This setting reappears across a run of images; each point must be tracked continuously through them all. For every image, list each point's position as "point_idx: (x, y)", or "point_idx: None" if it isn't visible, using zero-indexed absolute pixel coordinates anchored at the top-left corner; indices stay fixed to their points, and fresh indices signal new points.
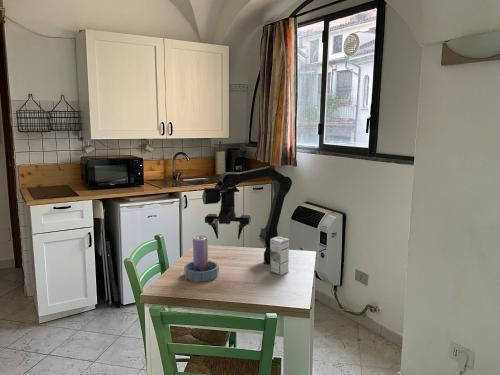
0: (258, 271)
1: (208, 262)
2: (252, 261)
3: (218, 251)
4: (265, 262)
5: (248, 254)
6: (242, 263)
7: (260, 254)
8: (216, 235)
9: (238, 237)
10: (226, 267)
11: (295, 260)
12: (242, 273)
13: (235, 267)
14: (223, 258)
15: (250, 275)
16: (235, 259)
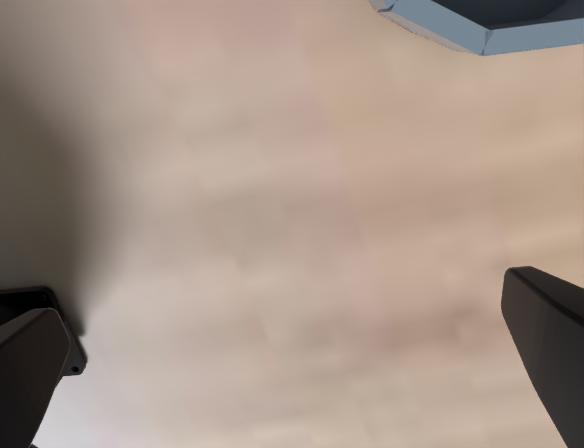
0: (15, 134)
1: (491, 28)
2: (163, 318)
3: (465, 427)
4: (46, 304)
5: (244, 420)
6: (217, 266)
7: (168, 434)
8: (576, 297)
9: (10, 331)
10: (312, 150)
11: None
12: (118, 44)
13: (237, 171)
14: (395, 323)
15: (25, 14)
16: (299, 325)
